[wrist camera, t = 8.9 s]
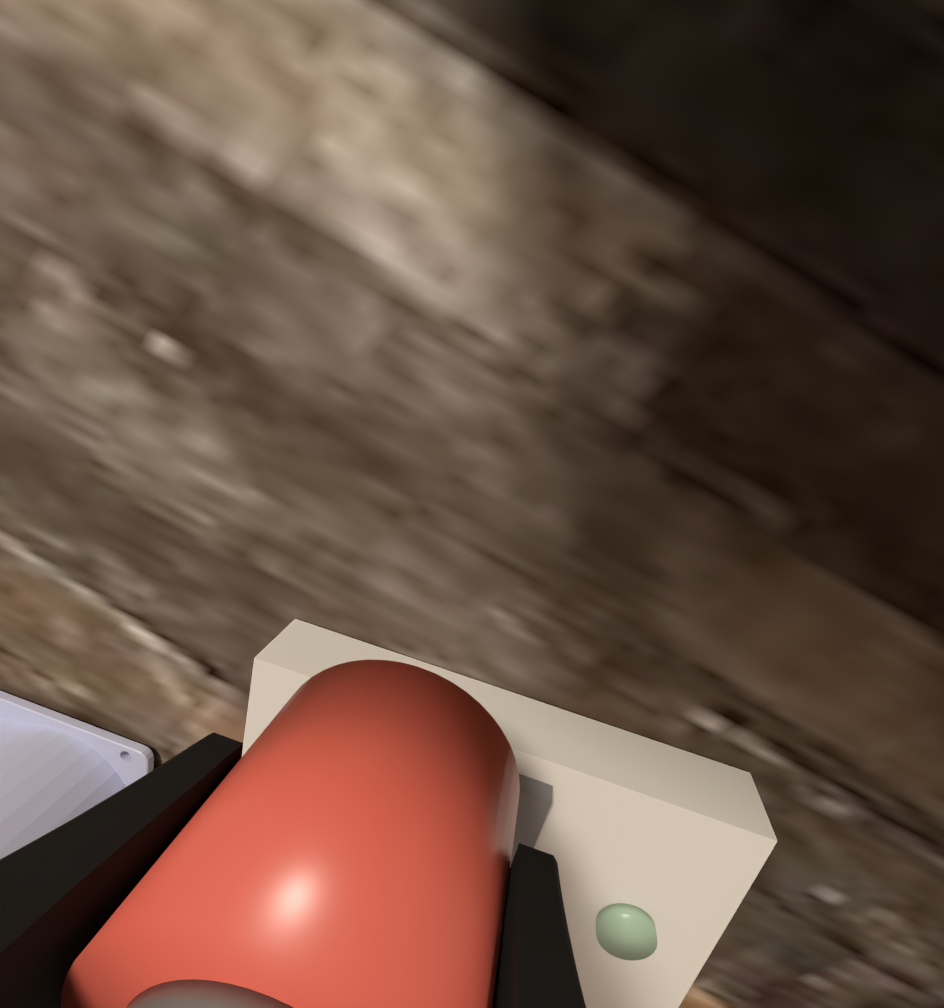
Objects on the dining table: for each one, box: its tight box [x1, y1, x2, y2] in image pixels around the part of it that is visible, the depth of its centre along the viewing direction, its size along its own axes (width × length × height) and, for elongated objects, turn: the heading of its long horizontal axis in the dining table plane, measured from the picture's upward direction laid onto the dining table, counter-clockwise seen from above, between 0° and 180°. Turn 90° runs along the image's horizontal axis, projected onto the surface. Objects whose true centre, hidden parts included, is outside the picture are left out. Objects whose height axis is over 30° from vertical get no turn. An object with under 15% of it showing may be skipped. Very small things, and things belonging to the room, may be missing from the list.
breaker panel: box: [242, 619, 777, 1008], centre depth 19 cm, size 16×16×3 cm
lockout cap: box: [61, 659, 520, 1008], centre depth 8 cm, size 5×5×5 cm
